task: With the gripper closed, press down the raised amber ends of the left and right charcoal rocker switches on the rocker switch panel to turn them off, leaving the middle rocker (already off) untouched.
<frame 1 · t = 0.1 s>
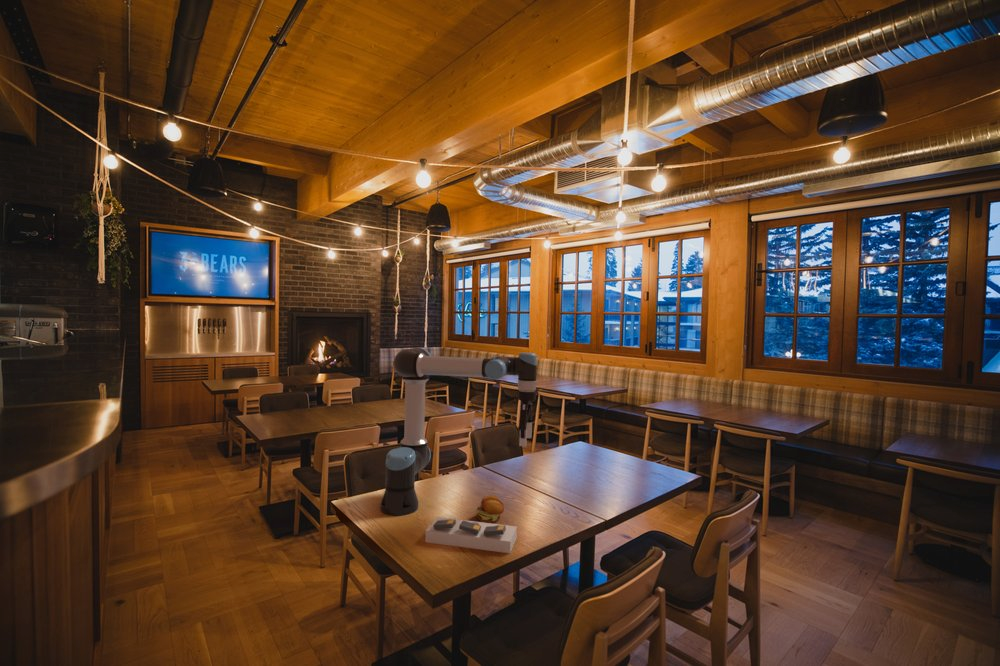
hand: (525, 441, 194), 28 cm above the table, fingers open, 13 cm apart
rocker left: (444, 524, 165), point 6 cm above the table, hinge at -10.0°
cheeseburger: (489, 519, 184), on the table
rocker middle: (470, 527, 163), point 6 cm above the table, hinge at 10.0°
rocker right: (494, 530, 161), point 6 cm above the table, hinge at -10.0°
rocker switch panel: (471, 539, 166), on the table
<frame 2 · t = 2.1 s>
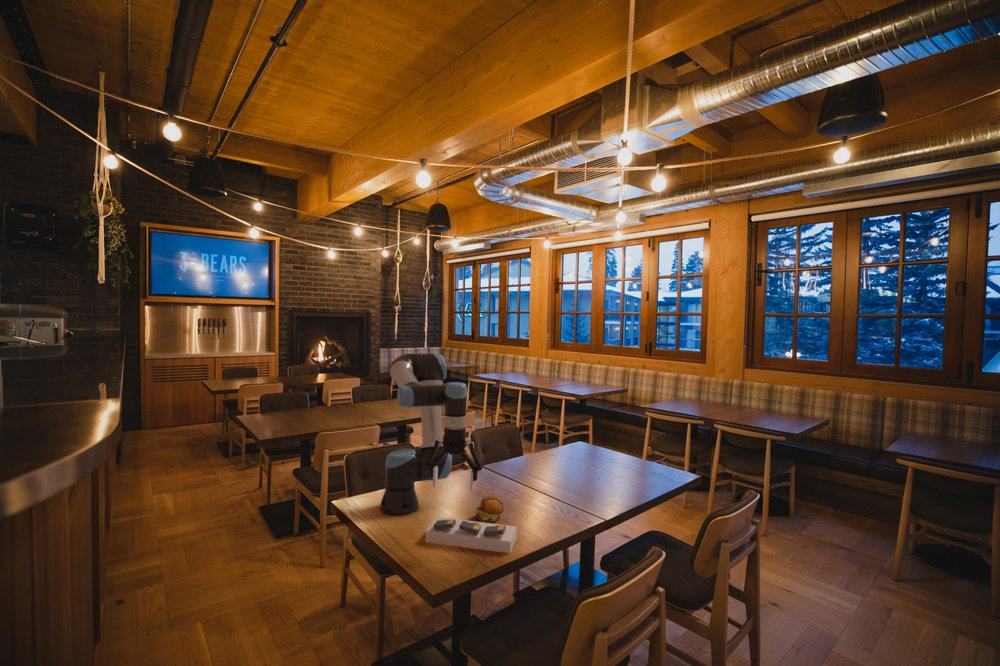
hand: (453, 487, 165), 19 cm above the table, fingers open, 13 cm apart
nothing on the table moved.
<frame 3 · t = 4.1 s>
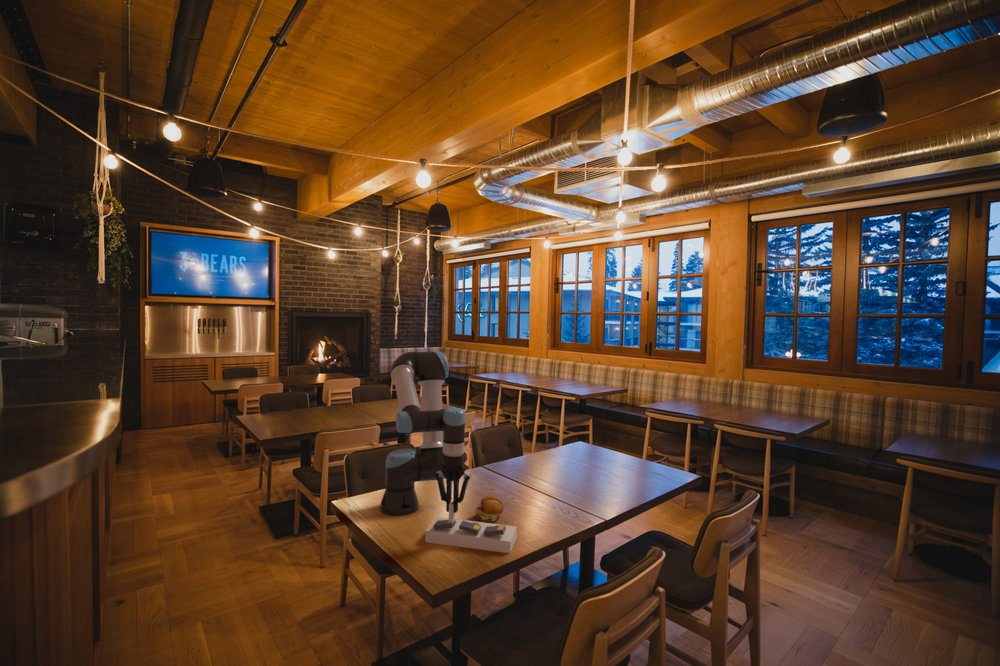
hand: (451, 521, 164), 7 cm above the table, fingers closed
rocker left: (444, 524, 165), point 6 cm above the table, hinge at -10.0°, touching gripper
everything else where it was.
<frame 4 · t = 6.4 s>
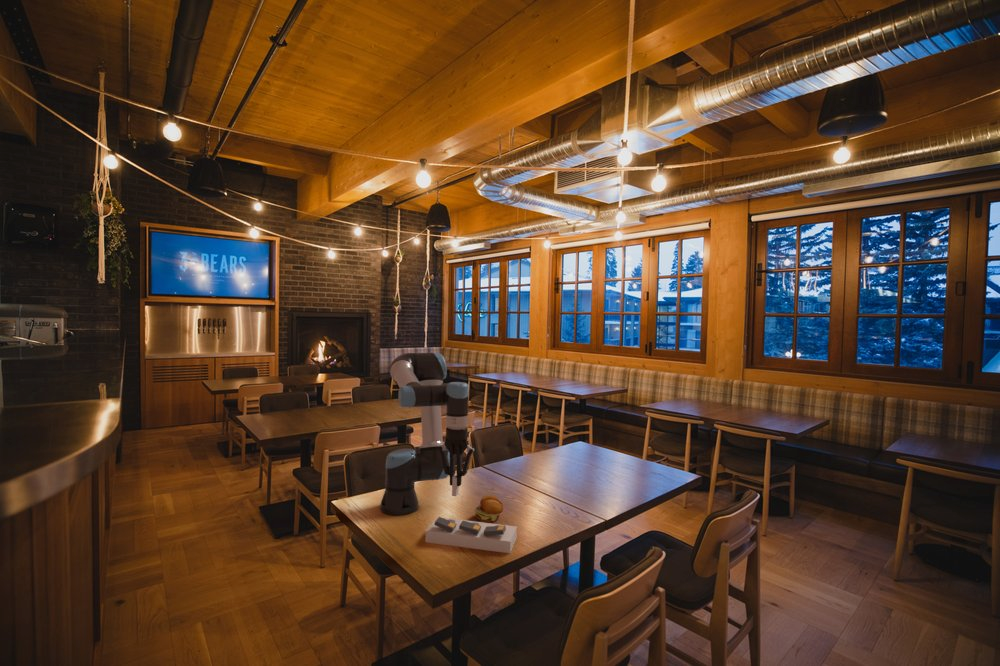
hand: (455, 494, 164), 17 cm above the table, fingers closed
rocker left: (445, 524, 165), point 6 cm above the table, hinge at 15.8°
everything else where it was.
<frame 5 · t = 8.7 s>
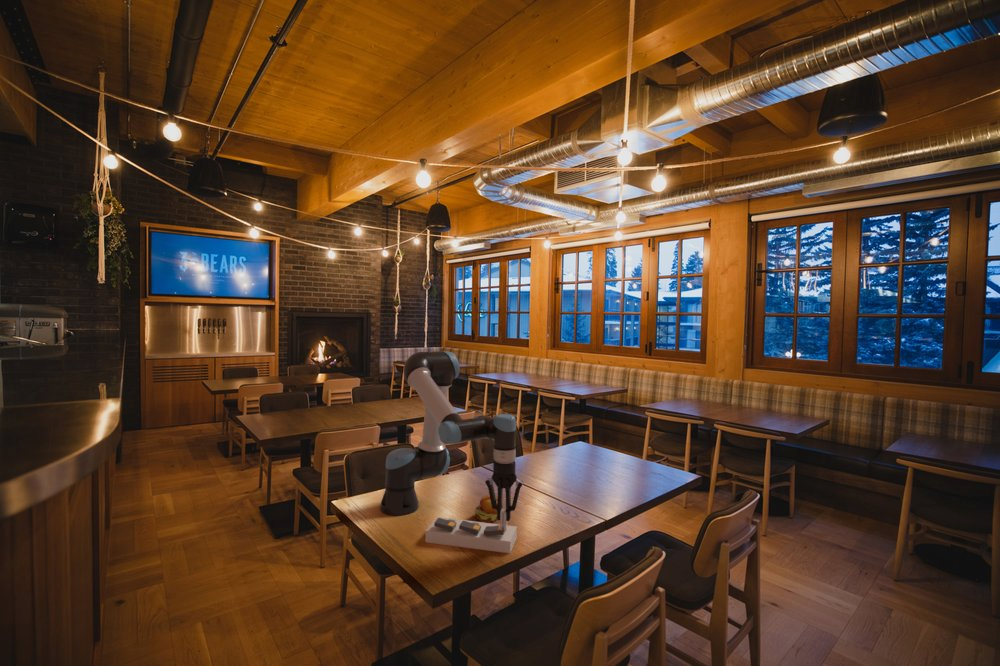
hand: (503, 529, 161), 6 cm above the table, fingers closed
rocker left: (445, 524, 165), point 6 cm above the table, hinge at 8.6°
rocker right: (494, 530, 161), point 6 cm above the table, hinge at -8.4°, touching gripper
everything else where it was.
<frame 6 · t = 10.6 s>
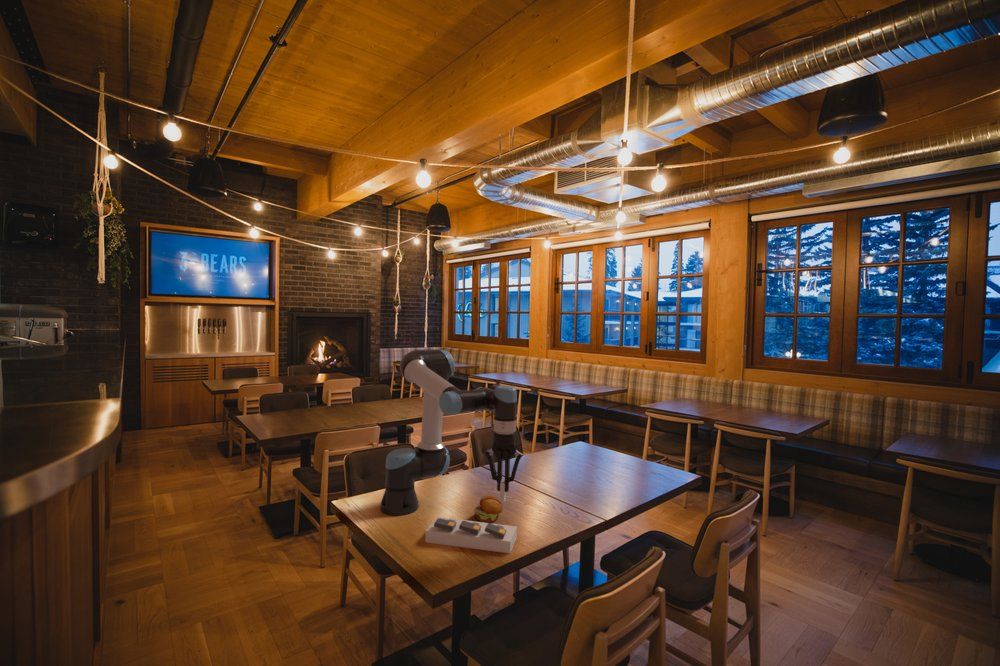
hand: (502, 500, 161), 16 cm above the table, fingers closed
rocker left: (445, 524, 165), point 6 cm above the table, hinge at 6.9°
rocker right: (495, 530, 161), point 6 cm above the table, hinge at 15.8°
everything else where it was.
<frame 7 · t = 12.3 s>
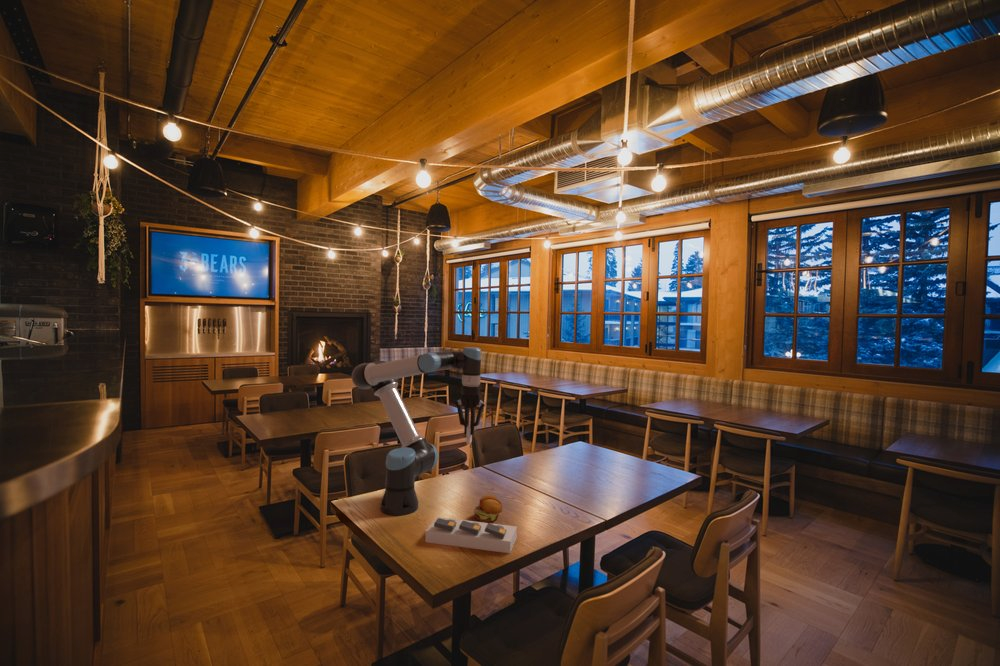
hand: (468, 442, 193), 27 cm above the table, fingers closed
rocker left: (445, 524, 165), point 6 cm above the table, hinge at 6.4°
rocker right: (495, 530, 161), point 6 cm above the table, hinge at 14.9°
everything else where it was.
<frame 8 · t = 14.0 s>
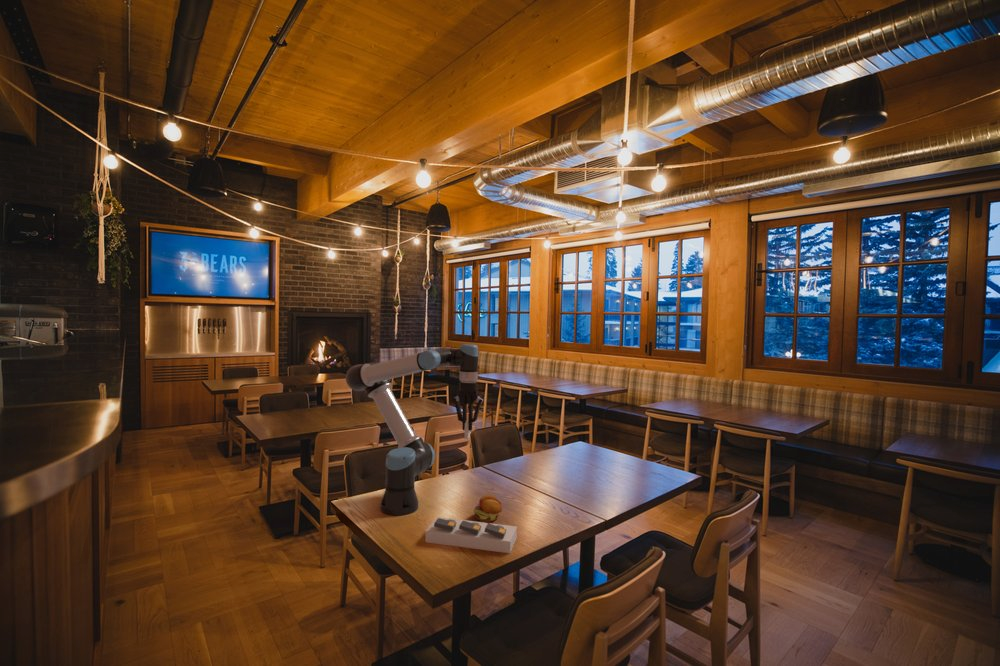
hand: (467, 438, 196), 28 cm above the table, fingers closed
rocker right: (495, 530, 161), point 6 cm above the table, hinge at 12.8°
everything else where it was.
at the end: rocker left at +6° (first picture: -10°); rocker right at +13° (first picture: -10°); rocker middle at +10° (first picture: +10°) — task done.
